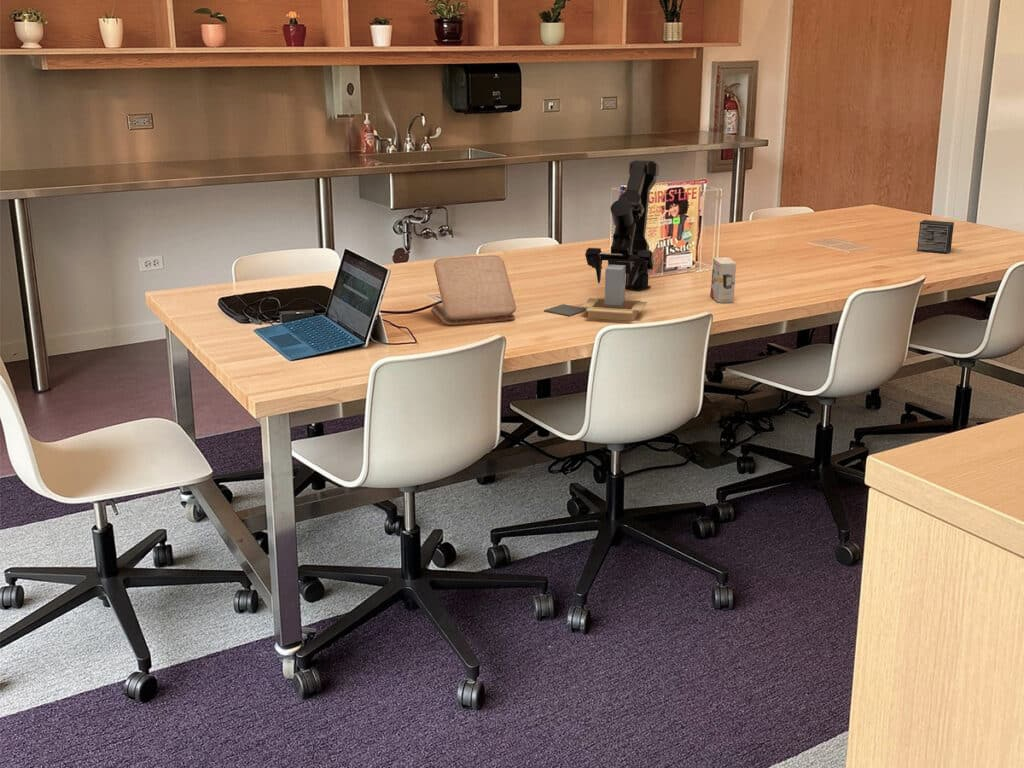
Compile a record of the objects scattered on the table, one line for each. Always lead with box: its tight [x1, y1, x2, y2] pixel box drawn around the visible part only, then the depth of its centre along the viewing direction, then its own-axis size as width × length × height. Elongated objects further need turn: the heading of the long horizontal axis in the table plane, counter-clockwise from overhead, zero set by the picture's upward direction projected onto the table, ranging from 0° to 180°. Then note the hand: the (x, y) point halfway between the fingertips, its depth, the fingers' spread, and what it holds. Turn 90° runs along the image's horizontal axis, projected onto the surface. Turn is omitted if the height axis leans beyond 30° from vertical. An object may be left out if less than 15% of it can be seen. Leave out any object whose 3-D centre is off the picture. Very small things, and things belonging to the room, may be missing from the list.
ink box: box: [709, 256, 737, 304], centre depth 327 cm, size 9×5×12 cm, turn 6°
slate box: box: [604, 265, 626, 309], centre depth 311 cm, size 6×4×13 cm
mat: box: [543, 303, 587, 317], centre depth 317 cm, size 9×9×1 cm
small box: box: [916, 219, 955, 255], centre depth 394 cm, size 11×6×10 cm, turn 58°
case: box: [431, 254, 517, 326], centre depth 311 cm, size 20×21×16 cm
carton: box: [581, 297, 648, 322], centre depth 313 cm, size 18×17×3 cm
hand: (614, 283), depth 310 cm, fingers open, 9 cm apart
